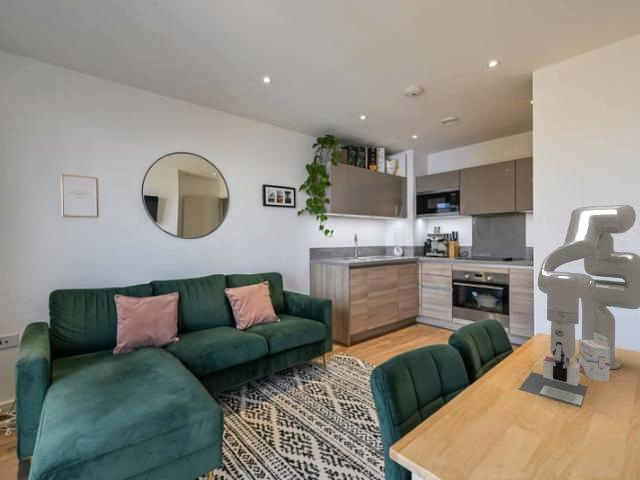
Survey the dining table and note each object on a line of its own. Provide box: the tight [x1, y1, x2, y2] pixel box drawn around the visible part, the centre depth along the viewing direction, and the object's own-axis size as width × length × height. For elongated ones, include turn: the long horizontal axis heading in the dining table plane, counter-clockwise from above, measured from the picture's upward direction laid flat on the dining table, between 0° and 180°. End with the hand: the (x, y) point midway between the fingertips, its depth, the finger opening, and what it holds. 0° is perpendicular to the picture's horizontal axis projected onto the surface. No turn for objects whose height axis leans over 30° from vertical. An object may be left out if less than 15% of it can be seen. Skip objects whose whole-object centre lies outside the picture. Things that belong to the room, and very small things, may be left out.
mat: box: [518, 371, 588, 409], centre depth 99 cm, size 18×15×1 cm
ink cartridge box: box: [578, 332, 611, 383], centre depth 108 cm, size 9×5×15 cm, turn 168°
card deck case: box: [542, 355, 581, 386], centre depth 95 cm, size 8×5×5 cm, turn 45°
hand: (561, 376), depth 95 cm, fingers closed on card deck case, 5 cm apart
